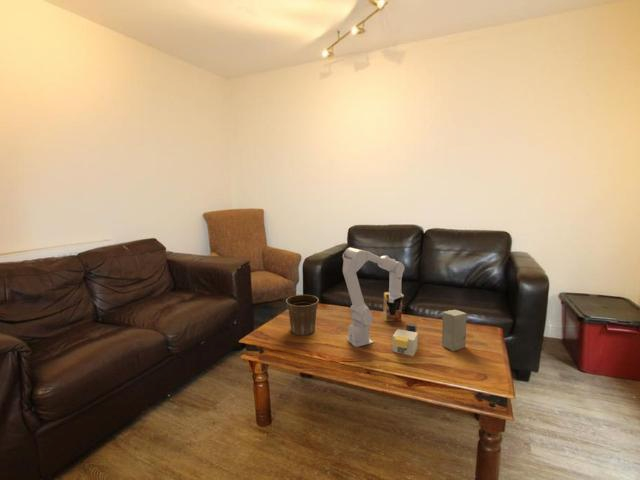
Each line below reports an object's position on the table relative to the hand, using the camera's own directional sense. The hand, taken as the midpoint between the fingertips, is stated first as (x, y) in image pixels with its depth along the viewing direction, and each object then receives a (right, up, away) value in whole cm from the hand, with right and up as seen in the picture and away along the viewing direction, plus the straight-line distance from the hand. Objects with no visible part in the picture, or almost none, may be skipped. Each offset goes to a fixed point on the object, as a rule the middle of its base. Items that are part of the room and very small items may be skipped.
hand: (394, 312), depth 156 cm
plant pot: (-45, -10, +4) cm, 46 cm away
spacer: (-2, -9, -23) cm, 24 cm away
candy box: (+2, -8, +16) cm, 18 cm away
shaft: (+2, -11, -15) cm, 18 cm away
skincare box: (+23, -12, -14) cm, 29 cm away
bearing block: (+1, -13, -17) cm, 21 cm away
